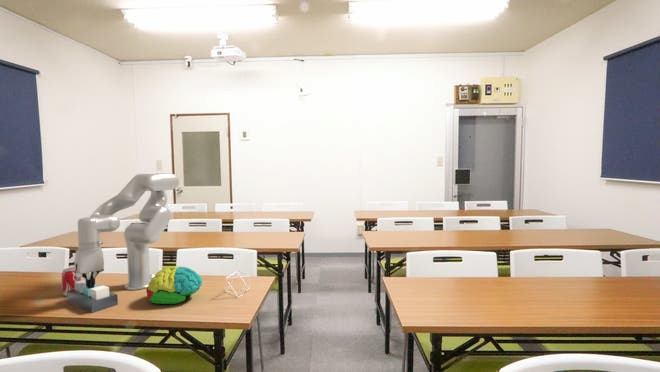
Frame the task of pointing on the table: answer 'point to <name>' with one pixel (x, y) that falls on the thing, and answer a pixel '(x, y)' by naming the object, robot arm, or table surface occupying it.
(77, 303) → the console
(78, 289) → the grey key
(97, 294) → the ivory key
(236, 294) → the geometric polyhedron
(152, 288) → the brain model
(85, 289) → the teal key
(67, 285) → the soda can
